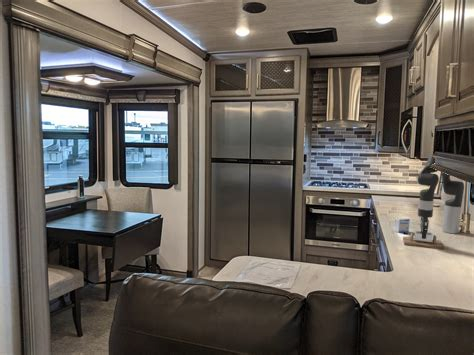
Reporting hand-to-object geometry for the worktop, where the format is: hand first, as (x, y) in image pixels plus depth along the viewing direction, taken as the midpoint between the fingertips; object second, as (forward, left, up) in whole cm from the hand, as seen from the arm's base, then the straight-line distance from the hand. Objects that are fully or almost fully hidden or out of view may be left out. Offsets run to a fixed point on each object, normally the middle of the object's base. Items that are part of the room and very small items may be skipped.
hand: (423, 237), depth 214 cm
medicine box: (-24, -10, -4) cm, 26 cm away
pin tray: (0, 0, -4) cm, 4 cm away
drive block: (0, 0, -2) cm, 2 cm away
